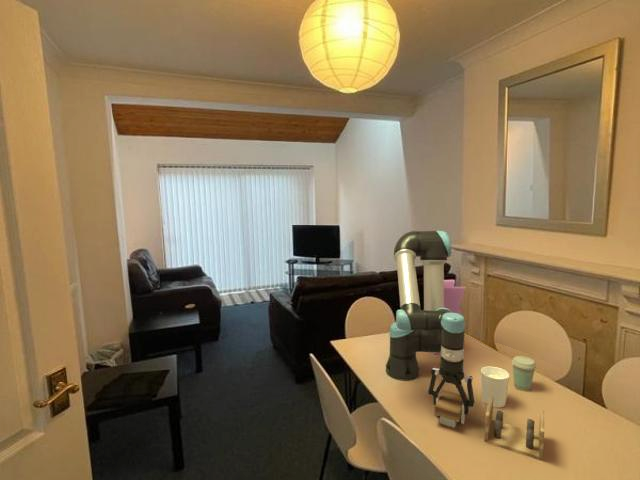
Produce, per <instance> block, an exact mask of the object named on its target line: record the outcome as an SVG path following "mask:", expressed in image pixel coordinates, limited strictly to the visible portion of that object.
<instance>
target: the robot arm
mask: <svg viewBox="0 0 640 480" xmlns="http://www.w3.org/2000/svg"><path fill="white" fill-rule="evenodd" d="M451 256H452V243H451V239H450V236H449V234H448V233H447V231H442V230H417V231H416V230H411V231H408V232H405V233H404V234H403V235H402V236H401V237H400V238H399V239H398V240H397V241H396V243H395V246H394V249H393V259H394V261H395V262H396V268H397V279H398V280H397V282H398V293H399V307H400V309H397V310H396V311H395V312H396V313H395V315H396V316H395V322H393V323H392V324H390V327H389V328H390V329H389V355H388V358H387V362H386V364H385V373H386V374H387V376H389V377H391V378H393V379H395V380H399V381H413V380H415V379H417V378H419V376H420V373H421V372H420V371H421V369H420V366H419V365H420V364H419V362H418V360H417V352H418V353H419V352H421V353H432V352H437V353H441V355H440V367H439V368H436V367H435V366H433V367H432V369H431V370H430V372H431V377H430V383H429V387H428V392H427V393H428V395H431V396H432V400H433V401H432V402H433V403H432V405H433V406H435V405H436V403H437V401H438V400H439V398H440V395H441V394H440V392H441V391H442V388H443V387H444V385H445V384H447V383H448V384H451V385H455V387H456V389H457V391H458V394H459V395H460V396H461V399H462V401H463V404H462V415H461V418H460V422H461V424H462V425H464V423H465V420H466V416H467V415H468V414H469V407H471V408H472V407H474V406H475V401H476V400H475V395H474V390H473V379H474V377H473V376H472V375H469V376H468V375H466V374H465V373H464V363H465V362H464V361H465V360H464V358H465V357H464V356H465V355H464V354H465V333H466V332H465V329H466V323H465V317H464V315H462V314H461V315H460V314H458V313H453V312H451V311H450V310H449V309H447V308H444V280H445V272H444V271H445V270H444V267H445V266H444V265H445V264H446V263H447V261H448V258H450V257H451ZM417 257H419V262H421V263H422V264H423V310H422V309H421V302H420V293H419V286H418V285H419V284H418V279H417V271H416V263H415V261H416V259H417ZM438 374H439V375H440V376H441V380H440V383H439V384H438V386H437V388H436V389H435V390H434V388H435V385H436V380H437V376H439V375H438ZM462 380H464V382H465V383H466V388H467V390H466V391H467V393H466V391H465V388H464V386H463V382H462ZM435 416H437V417H439V416H438V415H435Z"/></svg>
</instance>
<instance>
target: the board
mask: <svg viewBox="0 0 640 480" xmlns="http://www.w3.org/2000/svg"><path fill="white" fill-rule="evenodd" d="M441 391H442V392H441V393H440V394H439V395H440V398H439V400H438V401H437V403H436V405H434V415H435V416H436V415H438V416H437V417H440V416H441V417H444V418H447V419H450V420H454V421H457V423H460V421H461V416H462V404H463V401H462V399H461V396H460V394H459V393H454V392H451V391H448V390H444V389H443V390H441Z"/></svg>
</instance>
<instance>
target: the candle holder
mask: <svg viewBox="0 0 640 480" xmlns="http://www.w3.org/2000/svg"><path fill="white" fill-rule="evenodd" d="M480 375H481V379H480V381H481V400H482V402H483V403H484V404H485V405H487V406H488V403H489V399H490V396H491V397H493V408H496V409H497V408H500V409H501V408H503V407H505V406H506V404H507V398H508V389H509V383H510V382H509V381H510V380H509V379H510V373H509V372H508V371H507V370H505V369H504V368H500V367H497V366H489V365H488V366H483V367H482V368H481V369H480Z"/></svg>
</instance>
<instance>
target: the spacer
mask: <svg viewBox="0 0 640 480" xmlns="http://www.w3.org/2000/svg"><path fill="white" fill-rule="evenodd" d="M439 417H440V419H439V422H440V423H439V424H441V425H443V426H448V427H451V428H453V429H455V428H456V427H457V425H458V422H457V421H454V420H450V419H447V418H444V417H441V416H439Z"/></svg>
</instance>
